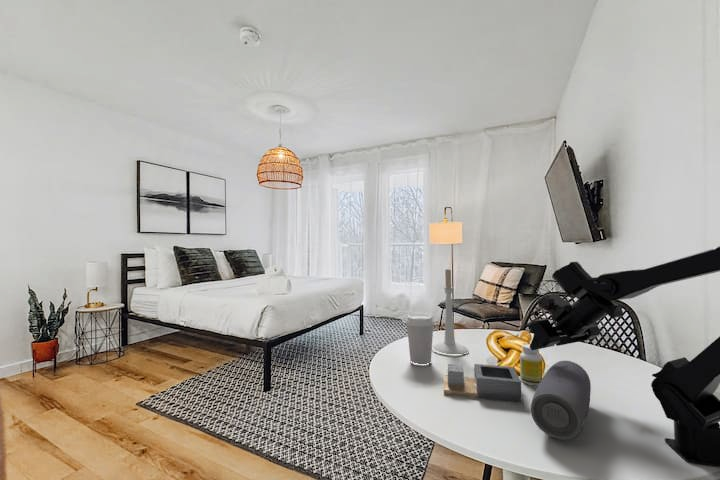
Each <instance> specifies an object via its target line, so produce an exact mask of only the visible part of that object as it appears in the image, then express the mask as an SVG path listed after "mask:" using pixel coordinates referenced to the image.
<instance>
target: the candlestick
mask: <svg viewBox="0 0 720 480" xmlns="http://www.w3.org/2000/svg"><path fill="white" fill-rule="evenodd" d="M444 273H445V277H444V278H445V279H444V280H445V287H443V289H444V293H445V295H446V296H445V313H444V315H445V320H444V341H442V342H438V343H435V344H433V345H432V347H433V348H434V349H435V350H437V351H439V352H442V353H446V354H464V353H467V352H468V353H469V349H468V347H466V346H465V345H463V344H461V343H458V342H456V340H455V339H456V337H455V328H454V327H455V326H454V313H453V299H452V294H453V289H454V287H452V269H449V268H447V269H445V271H444Z"/></svg>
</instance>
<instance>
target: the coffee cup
mask: <svg viewBox="0 0 720 480" xmlns="http://www.w3.org/2000/svg"><path fill="white" fill-rule="evenodd" d="M404 324H406V327H407V328H406V330H407V340H408V351H409V359H410V362H411V361H412V362H414V363H418V364H427V363H430V362H431V363H432V352H433V351H432V347H433V337H434V336H433V335H434V325H435V324H436V322H435V319H433V316H432V315H430V314H423V313H414V314H408V315H407V318H406V319H405V323H404Z"/></svg>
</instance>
